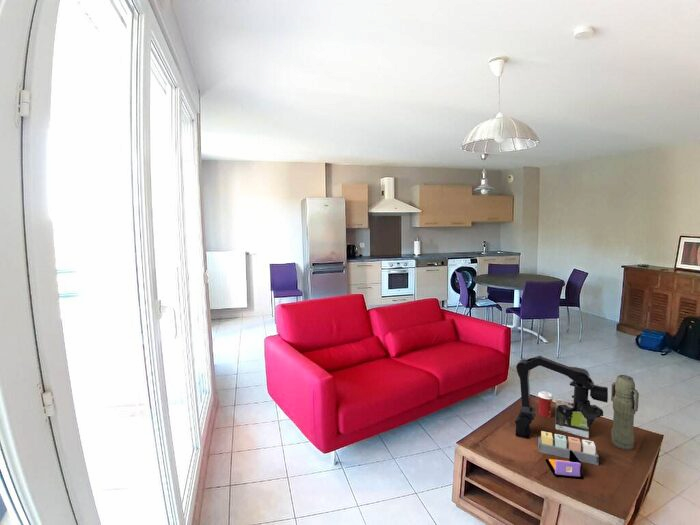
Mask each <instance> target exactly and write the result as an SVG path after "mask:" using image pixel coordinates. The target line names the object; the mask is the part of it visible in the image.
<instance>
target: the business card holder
mask: <svg viewBox="0 0 700 525" xmlns="http://www.w3.org/2000/svg"><path fill="white" fill-rule="evenodd" d="M581 462H582V461H579V460H578V458H577V457H576V456H575V454H574V453H573V452H572V450H570V455H569V459H568V460H562V459H552V458H546V459H545V463H546V465H547V467H549V469H550V471H551V473H552V474H553V475H554V477H555V478H557V479H559V478H563V479H571V480H584V476H583V474H582V463H581Z"/></svg>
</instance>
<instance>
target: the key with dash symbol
mask: <svg viewBox="0 0 700 525" xmlns="http://www.w3.org/2000/svg"><path fill="white" fill-rule="evenodd" d="M567 442H568V448H569V450H574V451H578V452H581V445H582V442H581V439H580V437H579V438H578V437H572V436H570V435H569V436H567Z"/></svg>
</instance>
